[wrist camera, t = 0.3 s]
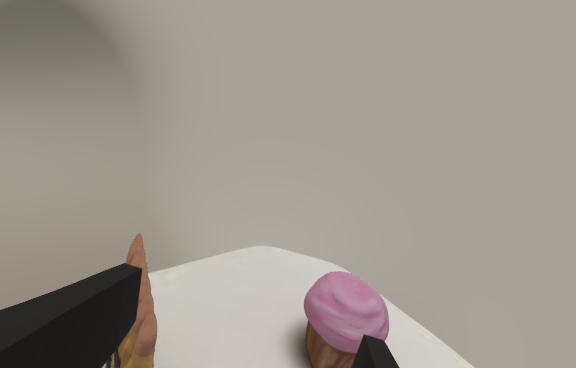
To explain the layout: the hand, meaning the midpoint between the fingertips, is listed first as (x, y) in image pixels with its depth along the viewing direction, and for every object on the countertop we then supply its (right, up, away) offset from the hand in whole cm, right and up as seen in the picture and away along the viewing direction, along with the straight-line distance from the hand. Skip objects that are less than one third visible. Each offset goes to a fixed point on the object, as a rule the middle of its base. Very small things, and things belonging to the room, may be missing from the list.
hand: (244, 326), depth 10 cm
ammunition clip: (-12, -12, +17) cm, 24 cm away
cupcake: (+5, -15, +27) cm, 31 cm away
